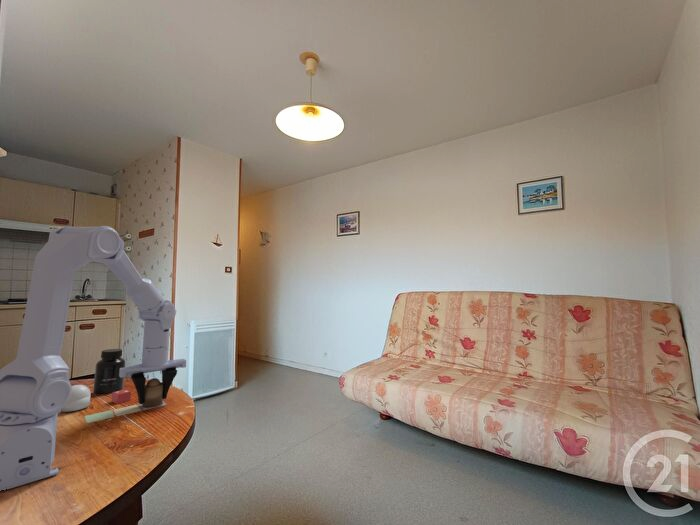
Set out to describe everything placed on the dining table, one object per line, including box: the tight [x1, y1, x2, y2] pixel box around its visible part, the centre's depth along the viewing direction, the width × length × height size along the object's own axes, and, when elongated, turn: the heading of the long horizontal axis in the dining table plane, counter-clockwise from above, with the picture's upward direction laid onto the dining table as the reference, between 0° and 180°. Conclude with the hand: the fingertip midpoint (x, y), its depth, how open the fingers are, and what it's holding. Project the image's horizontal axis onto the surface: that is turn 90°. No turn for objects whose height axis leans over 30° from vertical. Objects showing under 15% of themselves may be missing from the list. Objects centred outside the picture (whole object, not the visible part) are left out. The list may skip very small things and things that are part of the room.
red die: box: [111, 388, 132, 405], centre depth 81 cm, size 3×3×3 cm
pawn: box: [142, 377, 164, 409], centre depth 80 cm, size 4×4×6 cm
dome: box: [61, 384, 92, 413], centre depth 76 cm, size 6×6×6 cm
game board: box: [83, 400, 167, 424], centre depth 76 cm, size 11×16×1 cm
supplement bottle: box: [92, 348, 126, 396], centre depth 89 cm, size 7×7×12 cm
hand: (152, 400), depth 79 cm, fingers closed on pawn, 4 cm apart
